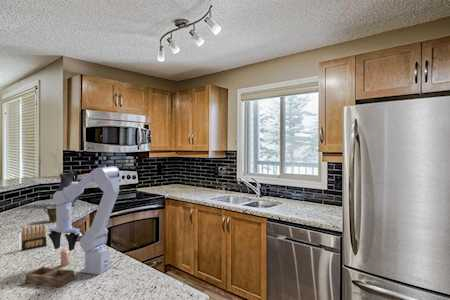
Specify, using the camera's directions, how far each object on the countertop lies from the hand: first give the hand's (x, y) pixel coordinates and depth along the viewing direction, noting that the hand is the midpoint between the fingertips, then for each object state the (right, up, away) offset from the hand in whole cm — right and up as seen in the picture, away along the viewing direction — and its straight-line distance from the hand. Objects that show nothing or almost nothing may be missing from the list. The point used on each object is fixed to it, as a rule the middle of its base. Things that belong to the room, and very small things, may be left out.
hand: (64, 249), depth 130 cm
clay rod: (0, -7, 0) cm, 7 cm away
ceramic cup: (-48, -6, +74) cm, 89 cm away
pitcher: (-64, -5, +127) cm, 142 cm away
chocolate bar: (-14, -7, +39) cm, 42 cm away
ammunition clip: (-27, -7, +22) cm, 36 cm away
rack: (+2, -7, -14) cm, 16 cm away
